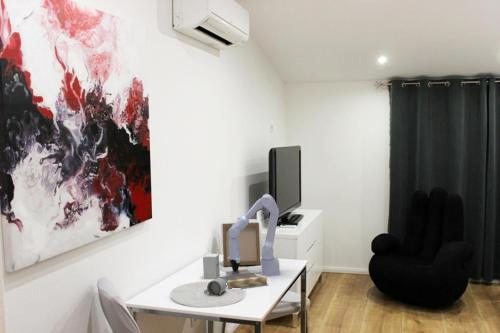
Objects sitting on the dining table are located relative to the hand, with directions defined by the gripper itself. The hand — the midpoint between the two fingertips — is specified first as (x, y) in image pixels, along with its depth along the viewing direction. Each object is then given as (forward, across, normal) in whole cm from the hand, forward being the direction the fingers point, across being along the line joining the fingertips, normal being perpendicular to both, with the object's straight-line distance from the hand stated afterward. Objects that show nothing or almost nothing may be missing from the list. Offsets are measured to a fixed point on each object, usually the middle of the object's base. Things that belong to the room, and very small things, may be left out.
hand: (235, 272), depth 263 cm
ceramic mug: (+2, +26, -18) cm, 32 cm away
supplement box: (+2, -2, -13) cm, 13 cm away
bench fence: (+1, +20, 0) cm, 21 cm away
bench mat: (+2, +13, 0) cm, 13 cm away
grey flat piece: (+1, +6, 0) cm, 6 cm away
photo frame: (+2, -24, +11) cm, 27 cm away
